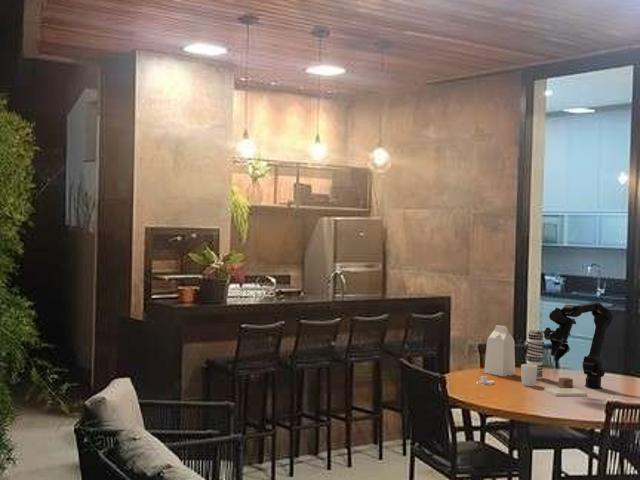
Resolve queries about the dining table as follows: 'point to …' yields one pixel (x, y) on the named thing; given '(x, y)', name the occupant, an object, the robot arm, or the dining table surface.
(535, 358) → the decorative candle
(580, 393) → the plate
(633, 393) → the dining table surface
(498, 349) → the milk
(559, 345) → the robot arm
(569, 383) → the walnut block
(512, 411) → the dining table surface
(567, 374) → the dining table surface
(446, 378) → the dining table surface
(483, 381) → the teacup and saucer
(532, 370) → the white cup
